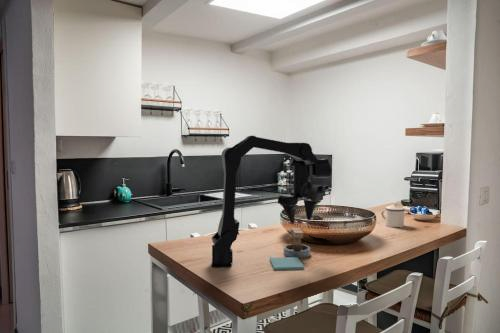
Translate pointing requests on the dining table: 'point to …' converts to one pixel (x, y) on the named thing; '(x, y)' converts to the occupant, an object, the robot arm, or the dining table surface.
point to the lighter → (317, 217)
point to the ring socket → (299, 254)
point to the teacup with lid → (394, 215)
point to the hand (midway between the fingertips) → (300, 221)
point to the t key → (296, 238)
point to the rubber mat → (286, 263)
